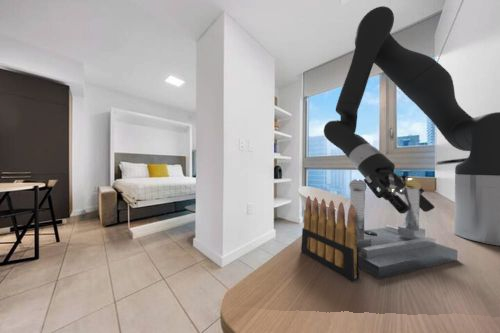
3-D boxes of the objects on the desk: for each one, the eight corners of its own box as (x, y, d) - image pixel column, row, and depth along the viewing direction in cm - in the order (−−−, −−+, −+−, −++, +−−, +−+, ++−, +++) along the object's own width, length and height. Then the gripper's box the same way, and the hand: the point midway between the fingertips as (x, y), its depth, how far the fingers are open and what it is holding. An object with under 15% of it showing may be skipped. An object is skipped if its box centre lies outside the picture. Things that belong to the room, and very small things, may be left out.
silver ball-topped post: (341, 234, 40) (343, 177, 40) (370, 248, 33) (372, 179, 33) (328, 236, 38) (329, 177, 38) (355, 251, 32) (357, 179, 32)
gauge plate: (386, 234, 46) (387, 223, 46) (457, 260, 33) (457, 244, 33) (321, 243, 39) (321, 230, 39) (378, 279, 27) (379, 259, 27)
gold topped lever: (391, 227, 45) (392, 176, 45) (424, 238, 38) (425, 178, 38) (380, 228, 43) (381, 176, 44) (413, 239, 37) (414, 178, 37)
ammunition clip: (300, 251, 35) (302, 195, 35) (306, 249, 36) (308, 194, 36) (353, 282, 26) (354, 206, 26) (359, 279, 27) (361, 205, 27)
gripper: (360, 151, 44) (412, 202, 33) (396, 153, 48) (454, 200, 37) (343, 170, 49) (383, 221, 38) (377, 171, 53) (423, 217, 42)
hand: (418, 210), depth 38 cm, fingers open, 8 cm apart
